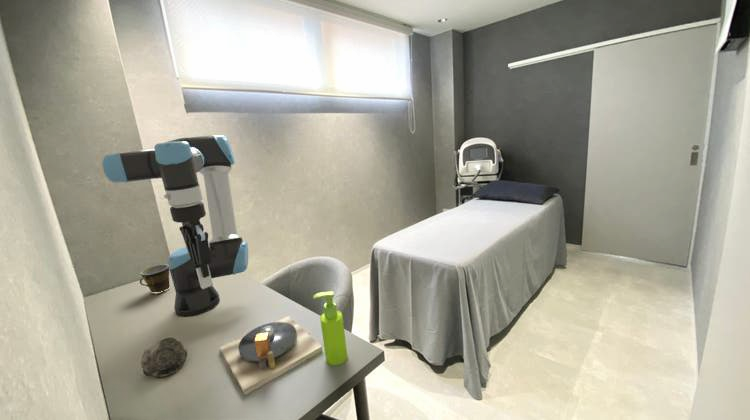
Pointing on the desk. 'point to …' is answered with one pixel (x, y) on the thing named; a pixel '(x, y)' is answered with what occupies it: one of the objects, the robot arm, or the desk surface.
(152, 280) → the ceramic cup
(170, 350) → the fossil
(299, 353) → the post base
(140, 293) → the desk surface
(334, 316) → the soap dispenser
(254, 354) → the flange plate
